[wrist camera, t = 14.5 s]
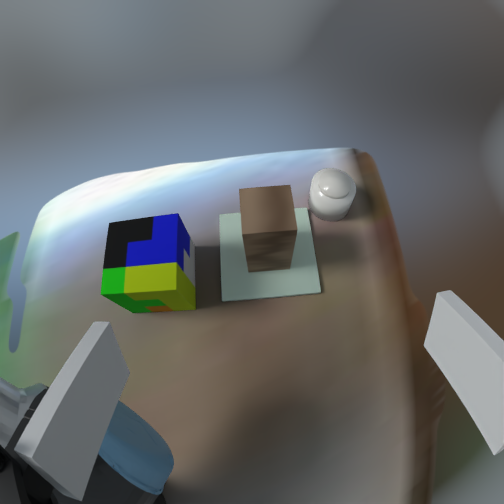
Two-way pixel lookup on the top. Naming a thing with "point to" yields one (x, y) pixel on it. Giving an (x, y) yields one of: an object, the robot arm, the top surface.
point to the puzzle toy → (150, 265)
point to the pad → (266, 282)
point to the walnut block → (268, 227)
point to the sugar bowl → (331, 194)
